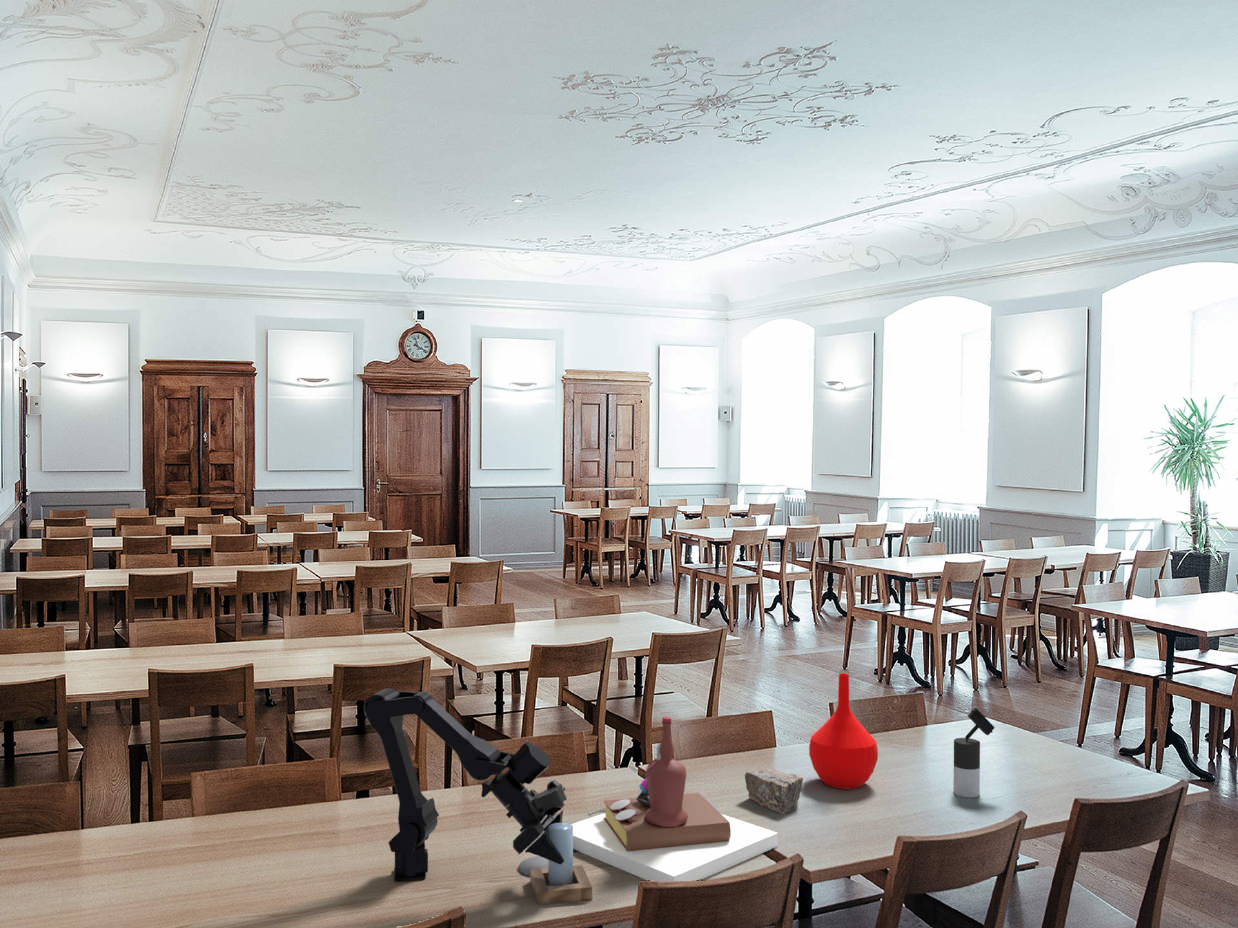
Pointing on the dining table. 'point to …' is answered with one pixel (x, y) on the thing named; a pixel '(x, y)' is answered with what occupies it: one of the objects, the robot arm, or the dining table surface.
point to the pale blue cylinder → (564, 844)
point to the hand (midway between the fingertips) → (567, 856)
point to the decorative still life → (668, 828)
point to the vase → (843, 746)
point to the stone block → (774, 788)
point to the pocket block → (560, 887)
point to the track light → (969, 758)
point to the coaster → (533, 864)
